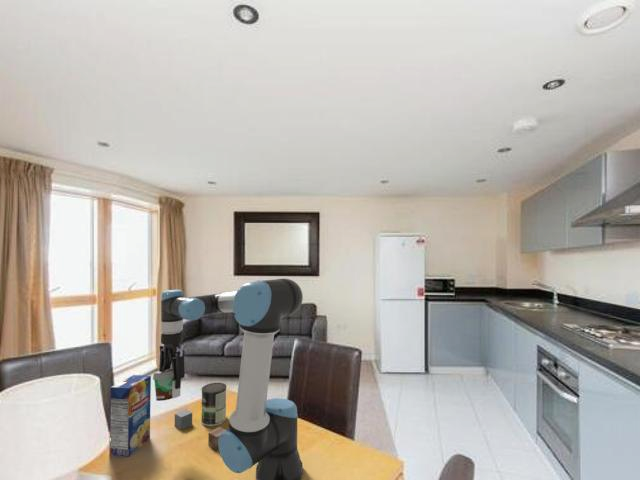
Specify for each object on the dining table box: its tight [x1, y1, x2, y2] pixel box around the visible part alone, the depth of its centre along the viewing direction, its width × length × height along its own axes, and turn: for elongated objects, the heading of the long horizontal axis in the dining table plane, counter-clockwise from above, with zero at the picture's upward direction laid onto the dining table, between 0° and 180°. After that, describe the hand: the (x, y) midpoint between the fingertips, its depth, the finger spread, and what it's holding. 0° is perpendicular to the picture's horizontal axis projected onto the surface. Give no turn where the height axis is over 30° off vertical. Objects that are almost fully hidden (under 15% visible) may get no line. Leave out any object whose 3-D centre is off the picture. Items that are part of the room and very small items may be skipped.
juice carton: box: [108, 374, 152, 458], centre depth 122 cm, size 12×8×24 cm, turn 172°
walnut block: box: [208, 426, 226, 451], centre depth 122 cm, size 5×5×5 cm
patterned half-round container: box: [152, 367, 182, 402], centre depth 120 cm, size 12×6×10 cm, turn 163°
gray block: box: [174, 409, 193, 430], centre depth 137 cm, size 5×5×5 cm
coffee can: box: [200, 382, 227, 427], centre depth 141 cm, size 10×10×14 cm
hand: (171, 394), depth 121 cm, fingers closed on patterned half-round container, 6 cm apart
